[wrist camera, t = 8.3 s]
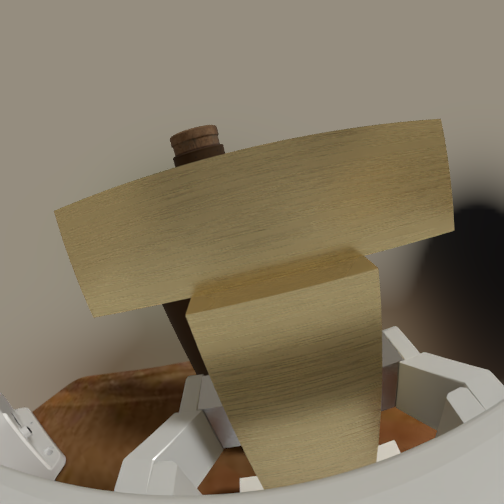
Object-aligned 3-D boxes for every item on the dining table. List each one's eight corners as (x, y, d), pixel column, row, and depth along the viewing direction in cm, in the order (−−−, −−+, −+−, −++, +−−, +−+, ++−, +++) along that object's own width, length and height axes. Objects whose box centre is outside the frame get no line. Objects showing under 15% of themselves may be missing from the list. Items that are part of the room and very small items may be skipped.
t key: (239, 541, 9) (34, 218, 4) (238, 486, 12) (105, 194, 8) (415, 499, 8) (460, 116, 4) (393, 449, 12) (385, 127, 7)
